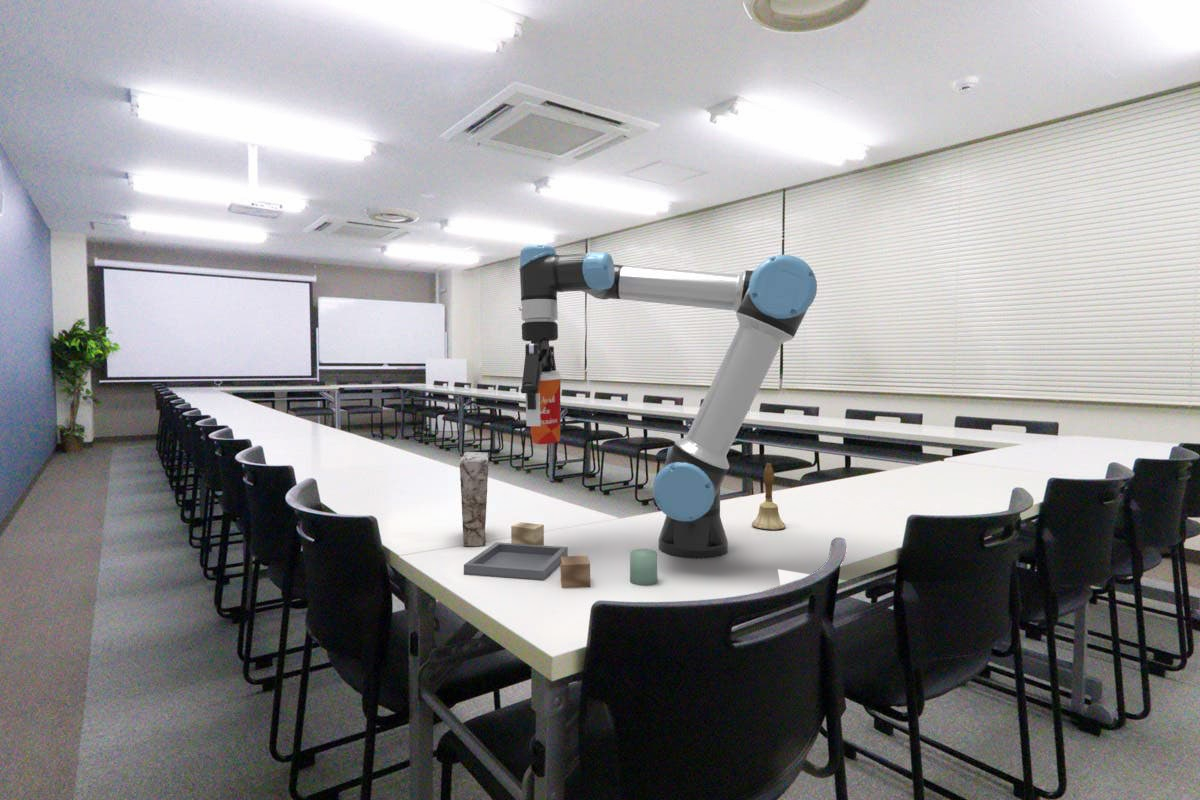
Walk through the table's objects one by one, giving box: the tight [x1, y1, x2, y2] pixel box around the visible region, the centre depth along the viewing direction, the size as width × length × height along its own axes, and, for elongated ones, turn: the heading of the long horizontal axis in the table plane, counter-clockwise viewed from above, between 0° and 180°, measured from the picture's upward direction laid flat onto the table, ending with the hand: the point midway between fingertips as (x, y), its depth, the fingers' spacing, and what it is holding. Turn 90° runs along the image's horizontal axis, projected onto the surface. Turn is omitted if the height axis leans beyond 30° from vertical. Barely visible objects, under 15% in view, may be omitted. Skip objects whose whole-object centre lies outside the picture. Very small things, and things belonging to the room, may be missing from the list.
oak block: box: [510, 522, 545, 546], centre depth 140 cm, size 6×4×5 cm, turn 67°
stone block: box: [459, 451, 489, 547], centre depth 146 cm, size 13×7×20 cm, turn 15°
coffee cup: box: [525, 370, 563, 445], centre depth 135 cm, size 8×8×15 cm
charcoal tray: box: [463, 541, 569, 582], centre depth 126 cm, size 16×16×2 cm
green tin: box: [629, 548, 658, 587], centre depth 116 cm, size 5×5×6 cm
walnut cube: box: [560, 555, 591, 589], centre depth 115 cm, size 5×5×5 cm
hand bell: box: [751, 462, 786, 531], centre depth 160 cm, size 8×8×16 cm
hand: (542, 423), depth 132 cm, fingers open, 13 cm apart
